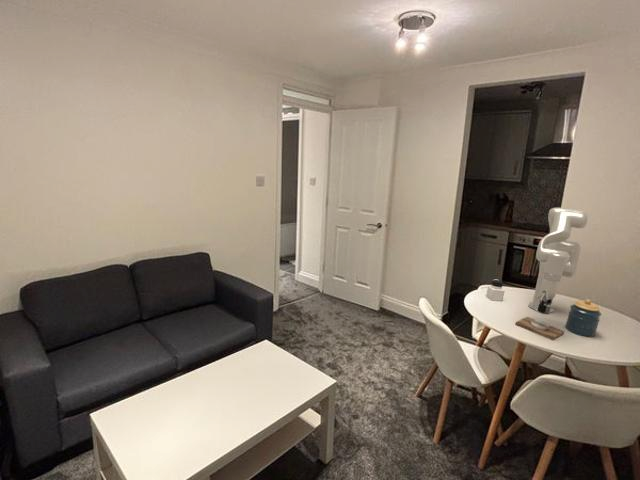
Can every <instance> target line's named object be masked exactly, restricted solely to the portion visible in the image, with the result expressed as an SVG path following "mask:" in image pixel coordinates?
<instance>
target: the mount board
mask: <svg viewBox="0 0 640 480" xmlns="http://www.w3.org/2000/svg"><path fill="white" fill-rule="evenodd" d="M515 326H518V327H520V328H523V329H525V330H528V331H530V332H532V333H535V334H537V335H539V336H542V337H543V338H545V339H549V340H551V341H554V340H556V339H558V338H560V337H561V336H563V335H564V334H565V331H564V330H562V329H559V328H557V327H554V326H551V325H549V323H547V322H544V321H542V320H536V319H533V318H532V317H529V316H526V317H524V318H522V319H519V320H517V321H516V322H515Z"/></svg>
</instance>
